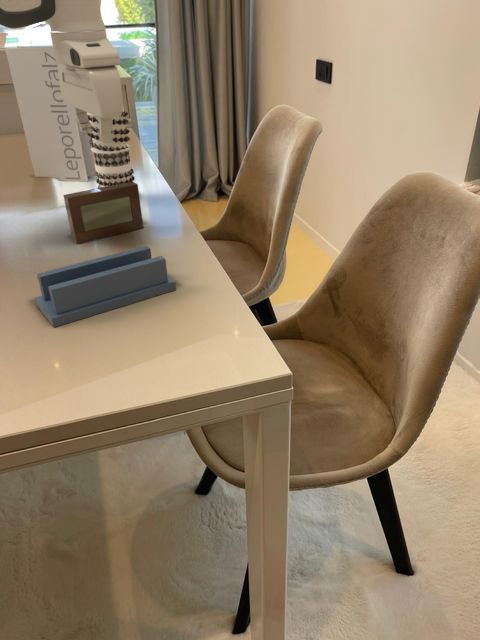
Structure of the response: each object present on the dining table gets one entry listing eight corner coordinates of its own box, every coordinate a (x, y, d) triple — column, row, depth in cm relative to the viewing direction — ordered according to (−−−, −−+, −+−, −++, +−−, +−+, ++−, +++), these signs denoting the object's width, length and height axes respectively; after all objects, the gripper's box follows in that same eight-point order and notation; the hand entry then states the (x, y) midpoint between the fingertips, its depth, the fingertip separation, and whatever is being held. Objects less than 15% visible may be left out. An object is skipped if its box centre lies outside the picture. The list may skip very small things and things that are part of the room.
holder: (176, 289, 90) (173, 258, 87) (53, 327, 81) (45, 293, 78) (154, 273, 96) (150, 242, 93) (36, 306, 86) (28, 274, 83)
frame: (143, 228, 114) (137, 184, 109) (77, 244, 107) (67, 198, 102) (138, 224, 116) (132, 181, 111) (72, 240, 109) (63, 194, 104)
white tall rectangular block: (35, 180, 144) (4, 48, 128) (45, 174, 149) (16, 46, 132) (87, 181, 142) (63, 48, 126) (96, 175, 147) (73, 46, 131)
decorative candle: (130, 209, 124) (112, 85, 110) (91, 206, 126) (69, 85, 112) (145, 196, 132) (130, 79, 118) (108, 194, 133) (90, 78, 120)
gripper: (43, 48, 99) (59, 130, 106) (85, 56, 85) (100, 150, 92) (77, 45, 102) (91, 125, 109) (123, 53, 88) (135, 145, 95)
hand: (96, 137), depth 101 cm, fingers open, 8 cm apart
